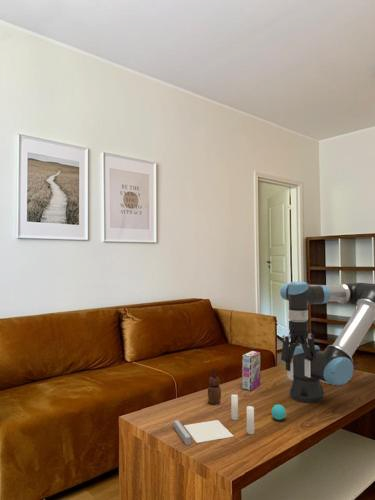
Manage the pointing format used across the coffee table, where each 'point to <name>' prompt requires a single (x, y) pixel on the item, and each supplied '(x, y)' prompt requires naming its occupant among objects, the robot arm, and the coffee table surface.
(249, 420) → the post
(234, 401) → the post
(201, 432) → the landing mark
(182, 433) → the wall
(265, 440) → the coffee table surface
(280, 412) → the ball
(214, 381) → the wooden figurine
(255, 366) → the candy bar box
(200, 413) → the coffee table surface
